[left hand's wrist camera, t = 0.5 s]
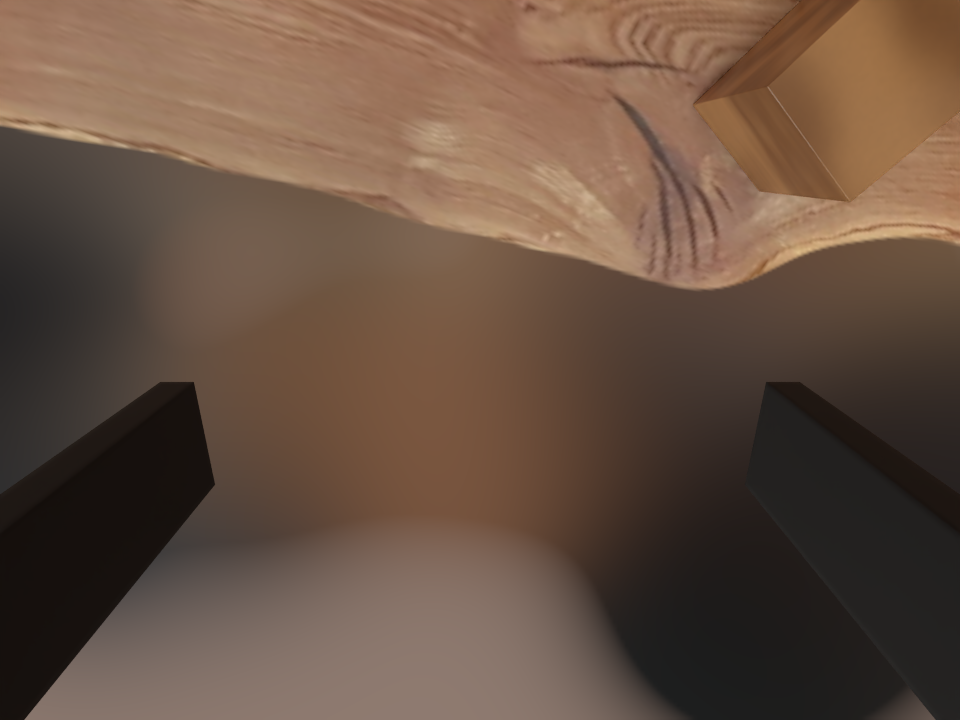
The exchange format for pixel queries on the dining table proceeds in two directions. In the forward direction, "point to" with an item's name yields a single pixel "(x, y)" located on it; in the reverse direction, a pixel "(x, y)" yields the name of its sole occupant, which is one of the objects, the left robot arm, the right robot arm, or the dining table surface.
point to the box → (838, 94)
